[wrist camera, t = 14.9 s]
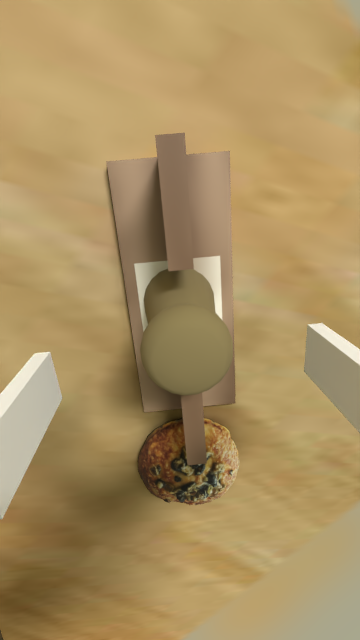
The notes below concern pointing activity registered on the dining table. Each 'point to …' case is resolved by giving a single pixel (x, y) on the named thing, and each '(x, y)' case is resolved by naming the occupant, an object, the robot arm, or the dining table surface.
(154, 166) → the notched board
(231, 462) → the bread roll
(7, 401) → the robot arm
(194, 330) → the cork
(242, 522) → the dining table surface
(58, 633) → the dining table surface
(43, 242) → the dining table surface
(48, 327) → the dining table surface
